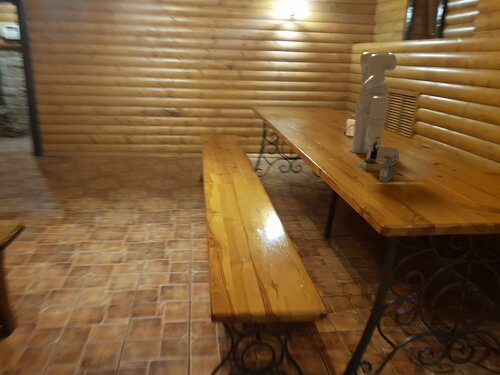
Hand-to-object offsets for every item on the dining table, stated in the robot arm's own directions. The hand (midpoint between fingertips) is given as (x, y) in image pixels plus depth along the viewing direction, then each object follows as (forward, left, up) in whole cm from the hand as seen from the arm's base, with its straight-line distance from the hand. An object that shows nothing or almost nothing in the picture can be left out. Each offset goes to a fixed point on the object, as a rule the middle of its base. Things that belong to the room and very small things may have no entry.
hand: (371, 157), depth 195 cm
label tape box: (+17, +2, -8) cm, 19 cm away
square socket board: (0, +4, -6) cm, 7 cm away
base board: (-1, +3, -7) cm, 8 cm away
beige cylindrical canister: (0, 0, -3) cm, 3 cm away
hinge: (-18, +15, -8) cm, 25 cm away
